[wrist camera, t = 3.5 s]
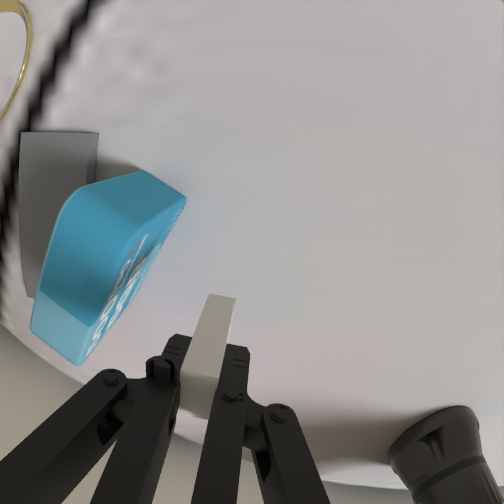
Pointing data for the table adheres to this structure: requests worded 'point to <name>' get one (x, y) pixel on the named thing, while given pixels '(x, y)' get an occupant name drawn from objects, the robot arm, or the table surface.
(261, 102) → the table surface
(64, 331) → the data package
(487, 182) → the table surface
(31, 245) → the rubber pad
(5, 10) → the tan oval ring
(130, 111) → the table surface
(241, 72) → the table surface
